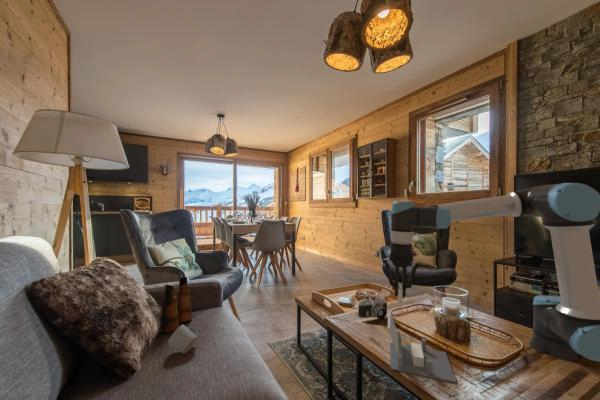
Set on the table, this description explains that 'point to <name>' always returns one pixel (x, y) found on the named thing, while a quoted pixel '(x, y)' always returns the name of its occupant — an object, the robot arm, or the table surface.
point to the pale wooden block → (417, 355)
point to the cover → (393, 332)
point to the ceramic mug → (183, 339)
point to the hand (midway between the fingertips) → (399, 305)
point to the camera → (372, 308)
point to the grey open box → (433, 362)
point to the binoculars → (175, 307)
